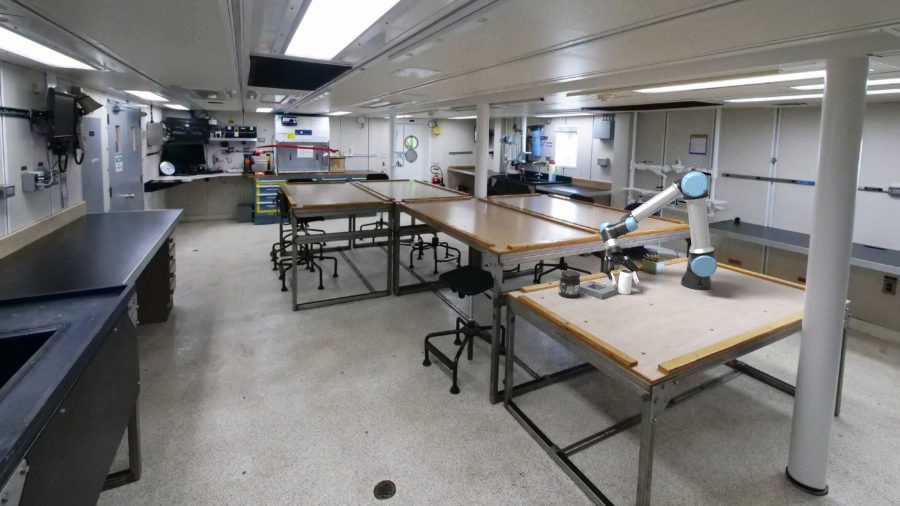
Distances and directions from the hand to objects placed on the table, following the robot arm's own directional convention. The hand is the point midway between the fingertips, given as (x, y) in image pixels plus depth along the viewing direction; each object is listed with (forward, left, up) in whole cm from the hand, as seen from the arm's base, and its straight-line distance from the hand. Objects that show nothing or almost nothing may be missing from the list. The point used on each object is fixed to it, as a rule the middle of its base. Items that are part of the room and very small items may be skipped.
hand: (626, 284), depth 243 cm
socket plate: (+10, +11, -5) cm, 16 cm away
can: (+1, -1, -5) cm, 6 cm away
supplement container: (+16, +26, -5) cm, 31 cm away
